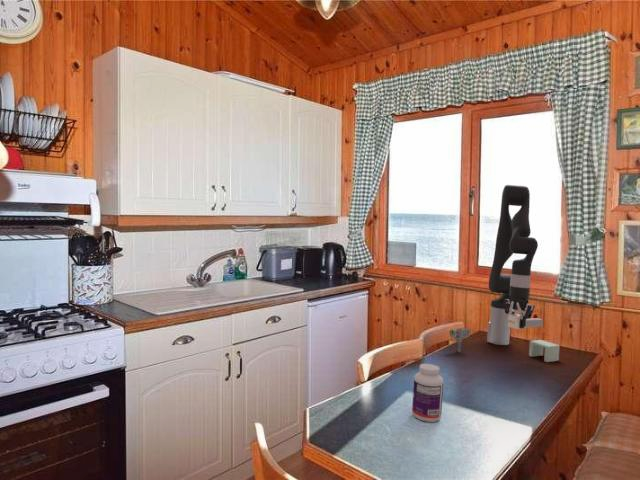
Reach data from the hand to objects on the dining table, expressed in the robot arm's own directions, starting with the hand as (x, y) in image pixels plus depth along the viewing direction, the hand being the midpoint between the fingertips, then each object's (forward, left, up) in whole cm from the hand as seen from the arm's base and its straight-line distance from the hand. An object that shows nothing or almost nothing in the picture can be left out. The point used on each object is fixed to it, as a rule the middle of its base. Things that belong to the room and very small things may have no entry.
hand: (516, 326), depth 181 cm
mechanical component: (-22, -3, -15) cm, 27 cm away
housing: (+9, +15, -15) cm, 23 cm away
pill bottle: (-9, -76, -15) cm, 78 cm away
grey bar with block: (+3, +4, 0) cm, 5 cm away
